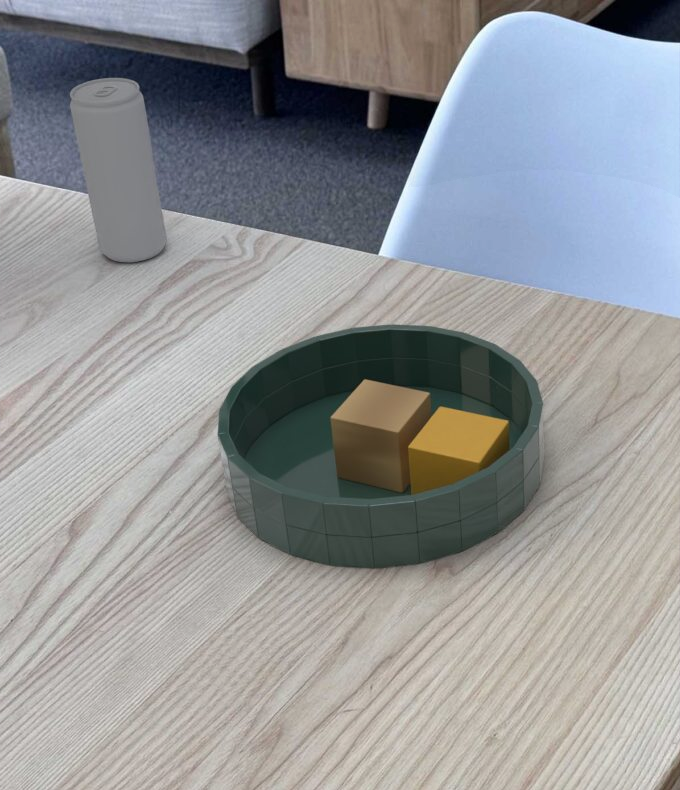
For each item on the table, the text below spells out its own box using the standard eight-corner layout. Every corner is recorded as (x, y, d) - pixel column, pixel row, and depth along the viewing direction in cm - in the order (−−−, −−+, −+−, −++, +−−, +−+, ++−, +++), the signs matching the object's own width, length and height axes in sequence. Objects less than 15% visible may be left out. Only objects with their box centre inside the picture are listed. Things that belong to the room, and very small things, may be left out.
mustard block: (412, 508, 74) (407, 446, 71) (443, 466, 77) (439, 405, 74) (482, 525, 72) (479, 462, 70) (511, 481, 75) (509, 420, 73)
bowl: (166, 531, 73) (152, 462, 71) (323, 367, 87) (316, 303, 84) (467, 610, 68) (463, 537, 65) (586, 421, 81) (586, 355, 79)
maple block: (336, 478, 76) (329, 417, 74) (369, 438, 79) (364, 378, 77) (403, 493, 75) (398, 432, 72) (434, 452, 78) (430, 392, 76)
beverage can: (88, 262, 99) (54, 100, 92) (119, 231, 103) (89, 74, 96) (150, 268, 98) (120, 105, 91) (180, 237, 102) (153, 79, 95)
